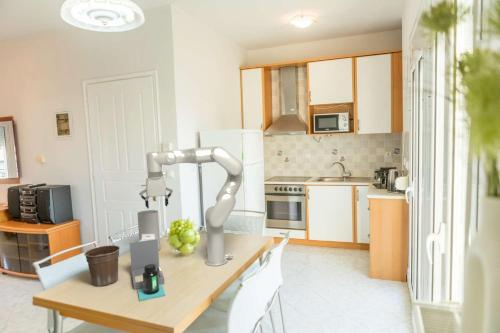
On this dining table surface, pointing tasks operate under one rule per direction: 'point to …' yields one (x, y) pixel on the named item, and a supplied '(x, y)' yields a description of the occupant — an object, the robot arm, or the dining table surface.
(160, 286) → the mat
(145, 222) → the cylinder vase
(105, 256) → the plant pot
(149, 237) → the ink box
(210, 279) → the dining table surface
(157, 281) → the supplement bottle
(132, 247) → the case
